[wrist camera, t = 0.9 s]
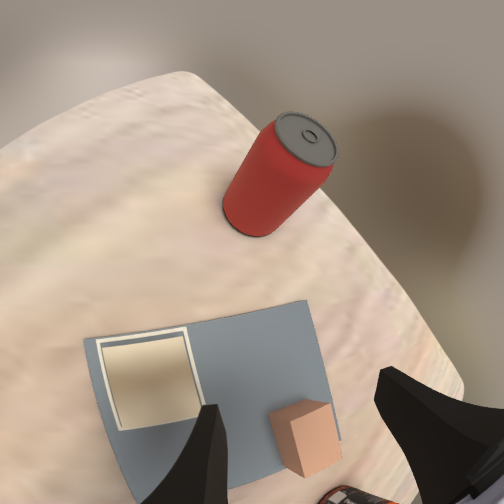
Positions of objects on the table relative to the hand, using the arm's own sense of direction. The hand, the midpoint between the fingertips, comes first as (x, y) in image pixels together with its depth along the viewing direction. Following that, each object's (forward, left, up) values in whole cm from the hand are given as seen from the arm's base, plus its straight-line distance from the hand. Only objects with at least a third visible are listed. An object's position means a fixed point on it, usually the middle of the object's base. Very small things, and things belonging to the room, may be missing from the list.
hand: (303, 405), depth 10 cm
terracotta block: (-7, -5, -13) cm, 15 cm away
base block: (+2, +6, -13) cm, 14 cm away
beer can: (+16, -7, -14) cm, 22 cm away
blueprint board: (-2, 0, -13) cm, 14 cm away
